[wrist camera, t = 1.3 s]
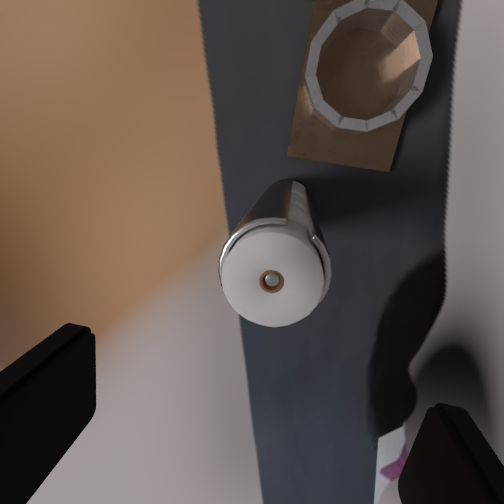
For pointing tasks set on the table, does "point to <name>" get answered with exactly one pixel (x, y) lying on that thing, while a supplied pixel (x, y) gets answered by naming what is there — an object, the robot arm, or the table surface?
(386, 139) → the duct collar
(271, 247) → the silver long cylinder
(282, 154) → the table surface
